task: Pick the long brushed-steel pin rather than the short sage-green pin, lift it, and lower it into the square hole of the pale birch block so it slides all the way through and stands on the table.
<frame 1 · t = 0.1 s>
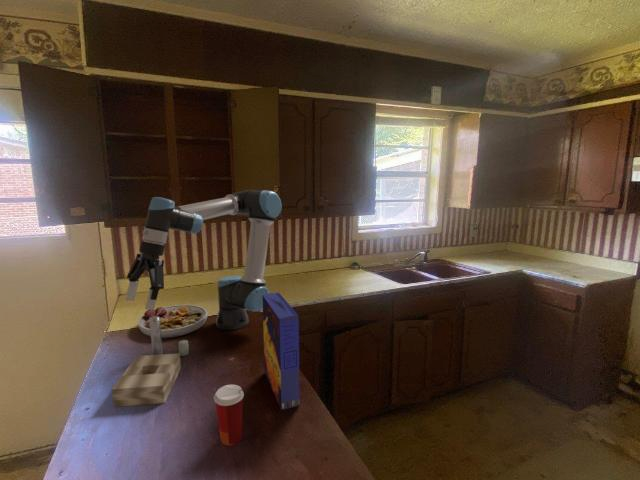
hand: (139, 304, 117), 28 cm above the countertop, tool tilted 20°, fingers open, 13 cm apart
hole block: (150, 385, 118), on the countertop
long steel pin: (157, 355, 138), on the countertop
paper cup: (231, 438, 95), on the countertop
bowl: (174, 326, 166), on the countertop
short green pin: (184, 353, 140), on the countertop
cereal box: (280, 388, 117), on the countertop
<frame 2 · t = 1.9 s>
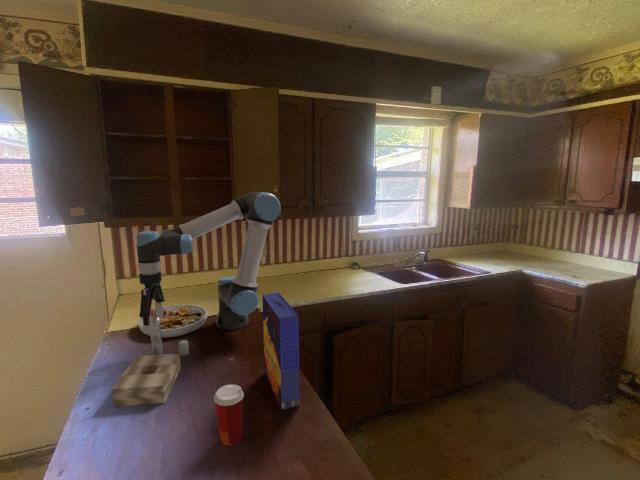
hand: (154, 324, 136), 13 cm above the countertop, tool pointing down, fingers open, 13 cm apart
nothing on the countertop moved.
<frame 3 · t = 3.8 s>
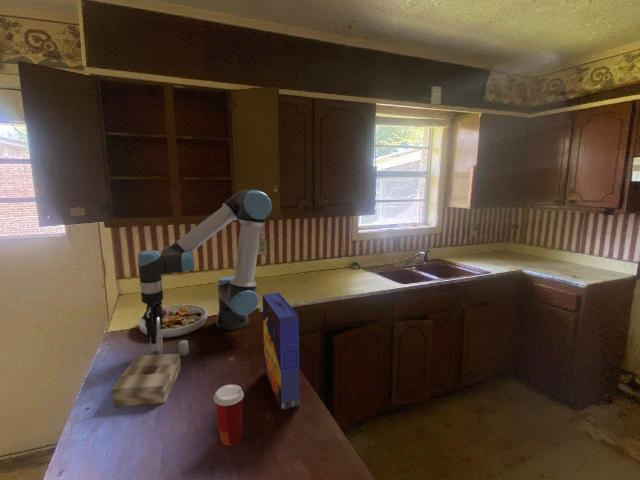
hand: (157, 347, 138), 3 cm above the countertop, tool pointing down, fingers closed on long steel pin, 3 cm apart
long steel pin: (157, 355, 138), on the countertop, touching gripper
everything else where it was.
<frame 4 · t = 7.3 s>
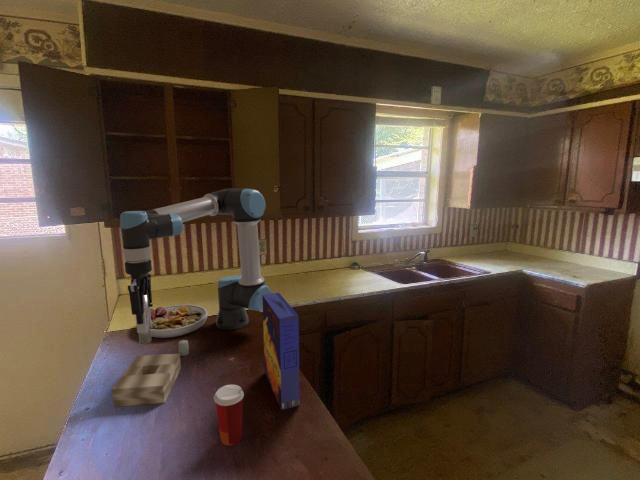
hand: (144, 329, 115), 21 cm above the countertop, tool pointing down, fingers closed on long steel pin, 3 cm apart
long steel pin: (145, 341, 115), point 16 cm above the countertop, touching gripper
everything else where it was.
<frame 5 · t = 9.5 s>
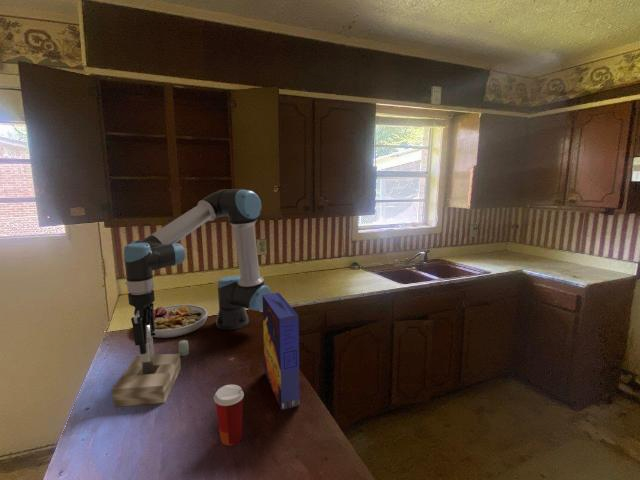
hand: (147, 358, 116), 10 cm above the countertop, tool pointing down, fingers closed on long steel pin, 3 cm apart
long steel pin: (148, 369, 117), point 6 cm above the countertop, touching gripper
everything else where it was.
when the fingers open (8 cm above the countertop, at t = 11.1 s): long steel pin drops 4 cm, resting in hole block.
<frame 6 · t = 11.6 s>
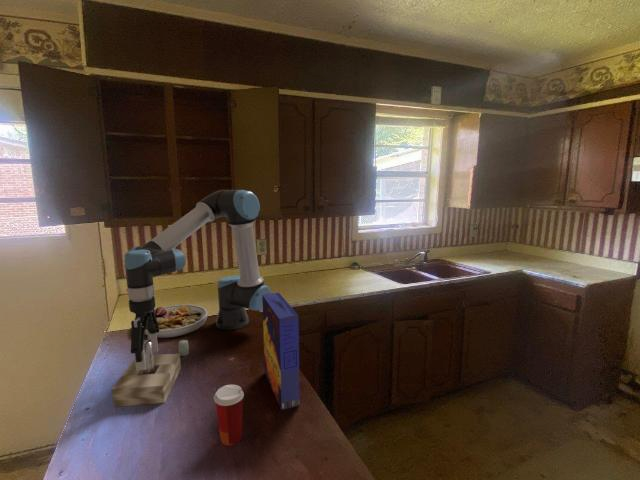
hand: (147, 359, 117), 10 cm above the countertop, tool pointing down, fingers open, 11 cm apart
long steel pin: (150, 385, 118), resting in hole block
everything else where it was.
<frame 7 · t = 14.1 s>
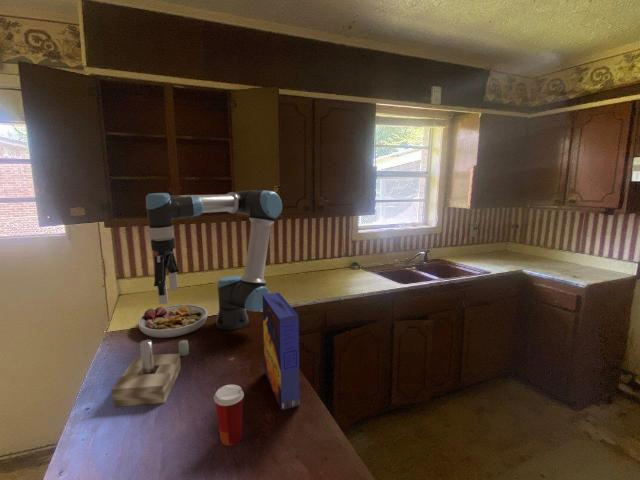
hand: (169, 296, 125), 28 cm above the countertop, tool pointing down, fingers open, 13 cm apart
nothing on the countertop moved.
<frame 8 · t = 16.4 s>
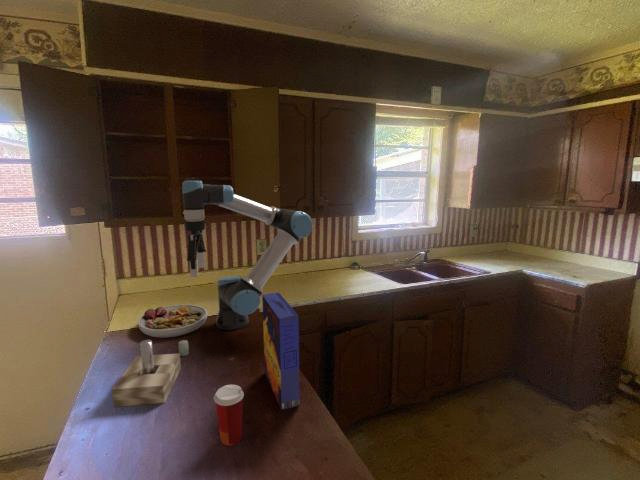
hand: (198, 272, 141), 32 cm above the countertop, tool pointing down, fingers open, 13 cm apart
nothing on the countertop moved.
at the end: long steel pin 0.1 cm off-centre on the hole block, point 0.0 cm above the hole block's base; long steel pin tilted 0°; short green pin moved 0.0 cm from its start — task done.
